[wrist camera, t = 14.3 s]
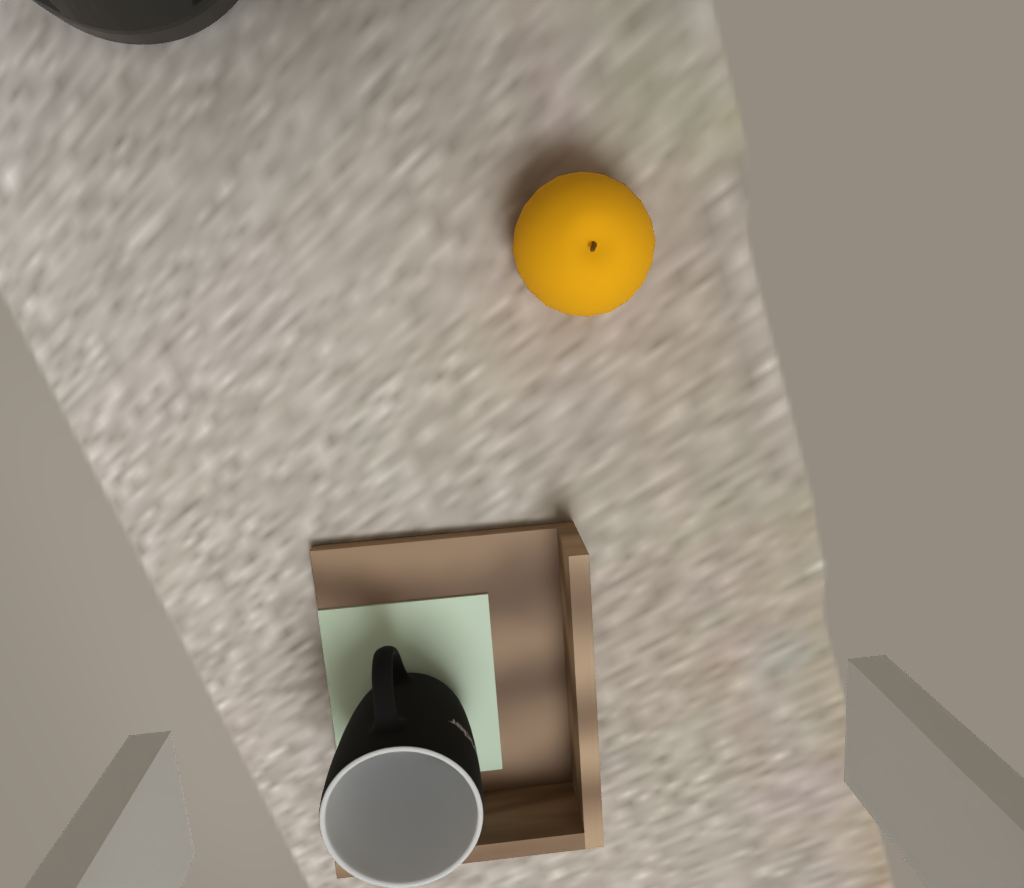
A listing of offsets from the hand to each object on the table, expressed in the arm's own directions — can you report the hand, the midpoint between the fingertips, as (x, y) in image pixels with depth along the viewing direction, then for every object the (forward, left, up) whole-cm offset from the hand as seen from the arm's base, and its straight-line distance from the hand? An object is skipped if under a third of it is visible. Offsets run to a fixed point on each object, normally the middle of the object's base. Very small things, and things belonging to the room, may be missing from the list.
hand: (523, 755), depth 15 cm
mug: (+18, -6, -34) cm, 39 cm away
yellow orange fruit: (-10, +7, -35) cm, 37 cm away
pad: (+18, -6, -34) cm, 39 cm away
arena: (+18, -2, -35) cm, 39 cm away
